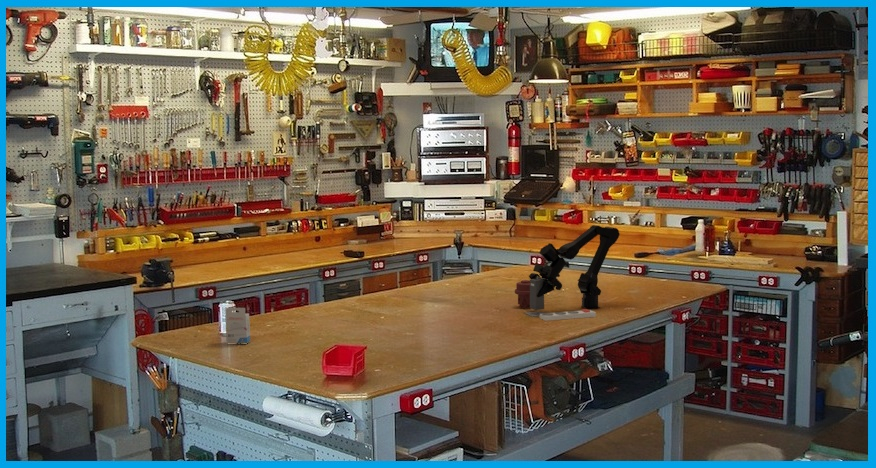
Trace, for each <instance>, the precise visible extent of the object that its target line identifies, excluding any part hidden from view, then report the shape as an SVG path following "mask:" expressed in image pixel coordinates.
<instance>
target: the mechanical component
mask: <svg viewBox="0 0 876 468" xmlns="http://www.w3.org/2000/svg"><path fill="white" fill-rule="evenodd" d="M515 286H516V288H515V289H514V294H516V295H517V304H518V305H519V307H520V308H523V309H524V310H525V309H530V279H529V280H527V279H523V280H521V281H517V282H516V285H515Z"/></svg>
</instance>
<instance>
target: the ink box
mask: <svg viewBox="0 0 876 468" xmlns="http://www.w3.org/2000/svg"><path fill="white" fill-rule="evenodd" d="M235 311H237V312H235ZM250 323H251V322H250V313H246V307H225V337H226V338H225V339H226V341H225V342H226V344H227V343H247V342H249V341H250V342H251V327H250Z"/></svg>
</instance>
